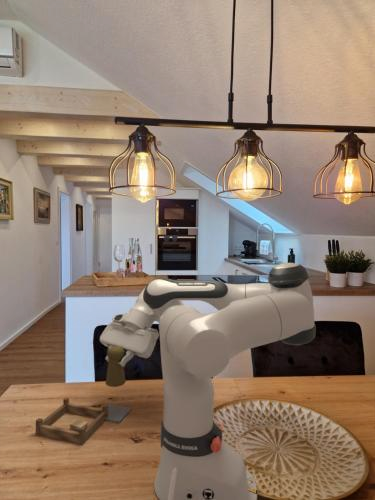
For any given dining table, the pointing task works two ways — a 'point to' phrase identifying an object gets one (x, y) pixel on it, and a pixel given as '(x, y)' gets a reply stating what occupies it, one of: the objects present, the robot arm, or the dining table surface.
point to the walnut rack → (69, 435)
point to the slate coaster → (116, 413)
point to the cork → (115, 367)
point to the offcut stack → (78, 425)
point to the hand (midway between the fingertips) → (114, 363)
